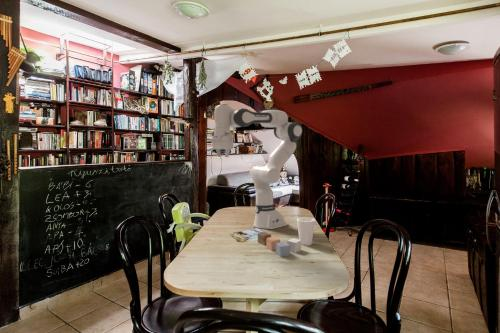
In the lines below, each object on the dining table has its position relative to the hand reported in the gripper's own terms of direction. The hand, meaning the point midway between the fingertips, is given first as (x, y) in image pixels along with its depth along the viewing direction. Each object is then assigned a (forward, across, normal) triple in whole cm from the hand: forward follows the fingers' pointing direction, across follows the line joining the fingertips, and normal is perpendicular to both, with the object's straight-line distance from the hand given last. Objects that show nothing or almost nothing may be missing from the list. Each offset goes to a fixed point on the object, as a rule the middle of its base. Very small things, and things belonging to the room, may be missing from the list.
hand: (223, 156), depth 168 cm
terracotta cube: (+46, -35, -10) cm, 58 cm away
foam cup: (+46, -39, -28) cm, 66 cm away
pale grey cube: (+46, -43, -17) cm, 65 cm away
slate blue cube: (+46, -44, -9) cm, 64 cm away
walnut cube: (+46, -26, -10) cm, 53 cm away
